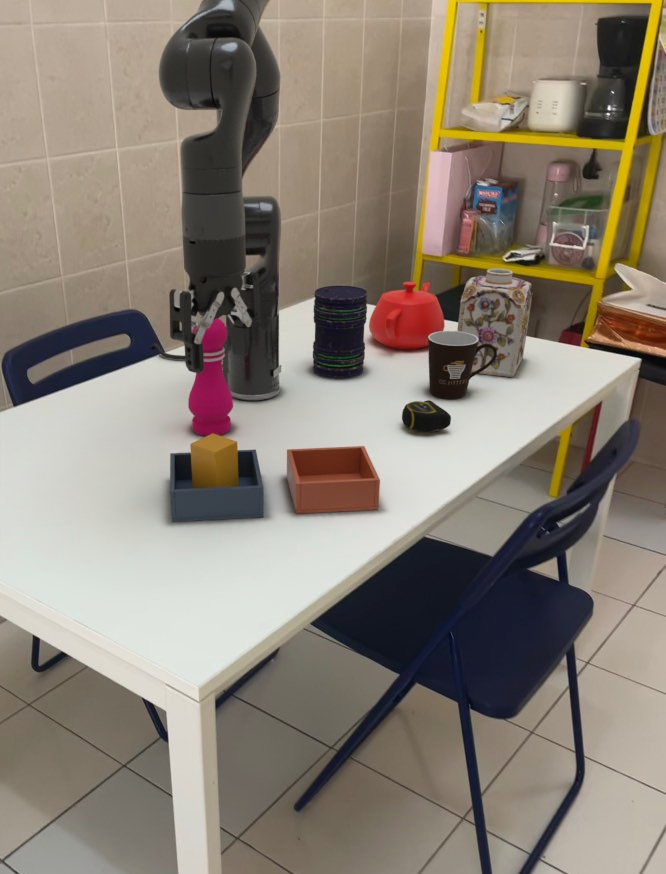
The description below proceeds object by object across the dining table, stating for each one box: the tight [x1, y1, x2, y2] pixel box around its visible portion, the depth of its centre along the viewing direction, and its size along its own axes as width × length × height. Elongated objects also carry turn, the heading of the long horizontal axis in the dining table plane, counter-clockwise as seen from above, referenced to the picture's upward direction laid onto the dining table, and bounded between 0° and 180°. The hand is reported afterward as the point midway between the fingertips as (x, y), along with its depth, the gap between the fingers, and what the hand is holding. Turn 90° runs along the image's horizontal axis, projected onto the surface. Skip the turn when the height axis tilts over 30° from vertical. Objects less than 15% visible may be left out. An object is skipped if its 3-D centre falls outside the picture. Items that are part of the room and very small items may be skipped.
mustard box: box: [189, 434, 239, 489], centre depth 119 cm, size 4×4×8 cm
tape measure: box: [401, 399, 452, 433], centre depth 142 cm, size 7×7×4 cm
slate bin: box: [169, 449, 265, 523], centre depth 121 cm, size 12×12×4 cm
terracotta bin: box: [286, 445, 381, 515], centre depth 122 cm, size 11×11×4 cm
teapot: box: [368, 281, 446, 350], centre depth 181 cm, size 25×16×12 cm, turn 153°
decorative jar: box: [456, 268, 534, 378], centre depth 165 cm, size 12×12×18 cm
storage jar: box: [312, 285, 368, 380], centre depth 164 cm, size 10×10×15 cm
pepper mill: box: [187, 318, 234, 437], centre depth 138 cm, size 7×7×20 cm
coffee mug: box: [427, 330, 497, 400], centre depth 154 cm, size 12×9×10 cm
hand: (218, 363), depth 112 cm, fingers open, 8 cm apart
